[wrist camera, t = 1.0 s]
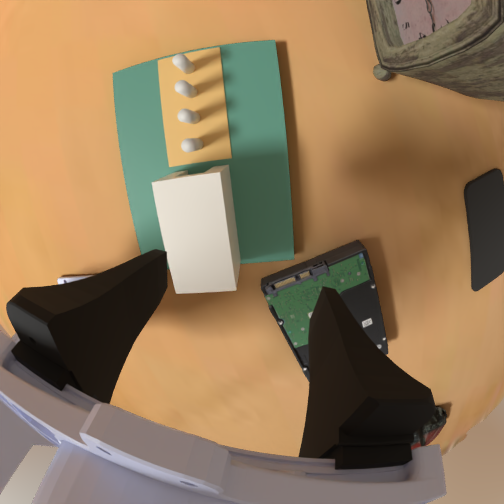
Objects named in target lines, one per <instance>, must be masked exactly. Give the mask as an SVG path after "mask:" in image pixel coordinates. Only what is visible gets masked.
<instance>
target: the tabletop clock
mask: <svg viewBox="0 0 504 504" xmlns="http://www.w3.org/2000/svg"><path fill="white" fill-rule="evenodd" d="M366 2H367V9H368V13H369V18H370V23H371V28H372V34H373V39H374V45H375V49H376V54H377V57H378V60H379V63H380V64H378V65H376V66H375V67H374V69H373V73H374V76H375V77H376V78H377V79H378V80H381V81H387V80H388V79H389V78H391V72H392V73H397V74H401V75H405V76H409V77H412V78H416V79H420V80H423V81H426V82H430V83H433V84H436V85H439V86H442V87H445V88H448V89H450V90H453V91H456V92H458V93H461V94H464V95H466V96H470V97H474V98H478V99H488V100H497V101H504V0H366Z"/></svg>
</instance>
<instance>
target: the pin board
mask: <svg viewBox="0 0 504 504" xmlns="http://www.w3.org/2000/svg"><path fill="white" fill-rule="evenodd" d="M113 88H114V102H115V113H116V122H117V131H118V139H119V147H120V154H121V160H122V166H123V172H124V178H125V184H126V189H127V194H128V199H129V204H130V209H131V214H132V218H133V223H134V227H135V231H136V235H137V239H138V243H139V247H140V251H141V255H142V254H144V253H146V252H149V251H151V250H154V249H158V250H162V251H165V247H164V243H163V238H162V234H161V229H160V224H159V219H158V215H157V209H156V204H155V199H154V194H153V188H152V182H154V181H156V180H158V179H160V178H162V177H165V176H167V175H169V174H171V173H174V172H179V171H186V170H188V175H191V174H198V173H205V172H206V171H208V170H209V169H211V168H212V167H214V166H222V165H229V170H230V178H231V187H232V195H233V203H234V211H235V219H236V227H237V235H238V243H239V251H240V258H241V263H240V264H245V263H258V262H270V261H282V260H294V241H293V221H292V204H291V189H290V175H289V162H288V150H287V139H286V128H285V118H284V108H283V99H282V90H281V82H280V73H279V66H278V58H277V50H276V43H275V40H268V41H254V42H243V43H235V44H227V45H220V46H213V47H208V48H202V49H197V50H192V51H187V52H182V53H178V54H174V55H170V56H166V57H162V58H158V59H155V60H151V61H148V62H144V63H141V64H138V65H135V66H132V67H129V68H126V69H123V70H120V71H118V72H115V73H113ZM167 269H170V268H169V264H168V260H167Z"/></svg>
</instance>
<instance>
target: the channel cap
mask: <svg viewBox="0 0 504 504" xmlns="http://www.w3.org/2000/svg"><path fill="white" fill-rule="evenodd" d="M152 188H153V194H154V199H155V204H156V209H157V215H158V219H159V224H160V229H161V234H162V238H163V243H164V247H165V251H166V252H167V260H168V264H169V268H170V272H171V276H172V280H173V284H174V288H175V291H176V294H185V293H205V292H222V291H236V290H237V283H238V276H239V270H240V263H241V258H240V251H239V243H238V235H237V227H236V219H235V211H234V203H233V195H232V187H231V178H230V170H229V165H222V166H214V167H212V168H211V169H209V170H208V171H206V172H205V173H198V174H191V175H188V170H186V171H179V172H174V173H171V174H169V175H167V176H165V177H162V178H160V179H158V180H156V181H154V182H152Z"/></svg>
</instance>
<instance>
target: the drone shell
mask: <svg viewBox="0 0 504 504" xmlns="http://www.w3.org/2000/svg"><path fill="white" fill-rule="evenodd" d="M442 412H443V413H442ZM446 417H447V414H446V410H444V409H443V408H441V407H436V410H435V413H434V415H433V416H432V418H431V419H430V420H429V421H428V422H427V423H426V424H424V425H423V426H422V427H421V428H419V429H418V430H417V431H416V432H414V433H413V434H414V442H413V443H410V444H411V450H412V449H415V448H417V447H422V446H426V445H428V444H429V443H430V442H432V441H433V440H434V439H435V438H436V436H437V435H438V434H439V433H440V431H441V430H442V428H443V427H444V425H445V424H446Z"/></svg>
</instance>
